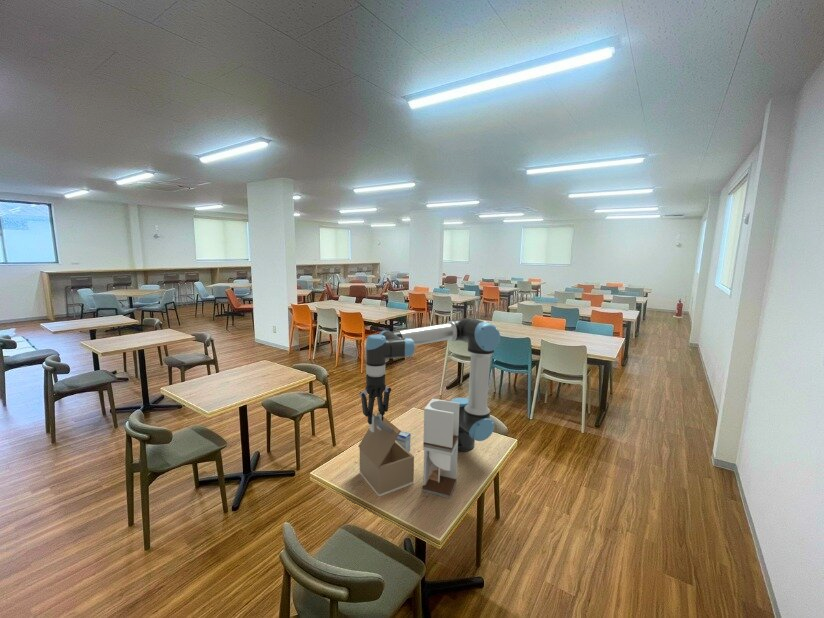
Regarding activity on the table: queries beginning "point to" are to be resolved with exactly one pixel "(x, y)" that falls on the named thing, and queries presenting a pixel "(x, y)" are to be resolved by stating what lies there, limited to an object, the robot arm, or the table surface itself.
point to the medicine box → (404, 440)
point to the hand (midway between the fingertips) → (375, 429)
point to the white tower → (440, 447)
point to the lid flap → (379, 440)
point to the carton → (389, 470)
